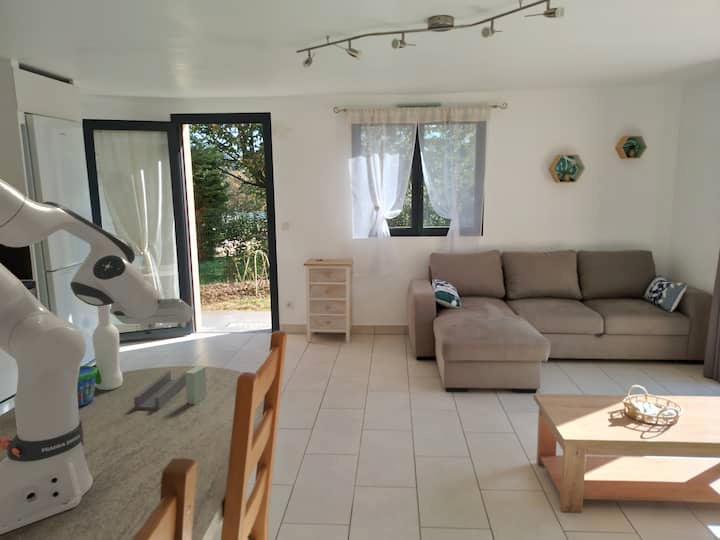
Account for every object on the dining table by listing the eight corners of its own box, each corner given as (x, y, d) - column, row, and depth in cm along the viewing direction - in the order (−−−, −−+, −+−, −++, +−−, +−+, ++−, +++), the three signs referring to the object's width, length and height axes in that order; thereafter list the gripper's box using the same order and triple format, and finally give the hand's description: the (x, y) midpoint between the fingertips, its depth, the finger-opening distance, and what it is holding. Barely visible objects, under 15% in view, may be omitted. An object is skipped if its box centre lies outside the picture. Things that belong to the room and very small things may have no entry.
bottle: (98, 383, 164) (92, 297, 159) (124, 380, 166) (119, 296, 162) (93, 392, 156) (86, 302, 152) (120, 389, 158) (114, 300, 154)
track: (159, 409, 143) (158, 397, 143) (135, 409, 143) (134, 397, 143) (188, 382, 165) (188, 371, 164) (167, 381, 165) (167, 371, 165)
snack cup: (90, 390, 157) (88, 361, 156) (113, 396, 153) (111, 365, 151) (43, 409, 143) (40, 377, 141) (67, 415, 139) (64, 382, 137)
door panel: (195, 404, 147) (193, 373, 146) (186, 403, 148) (185, 372, 146) (206, 397, 153) (205, 367, 151) (198, 395, 154) (197, 366, 152)
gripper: (182, 289, 125) (204, 315, 137) (111, 292, 128) (139, 317, 140) (176, 310, 122) (199, 335, 133) (103, 313, 125) (132, 337, 136)
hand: (167, 326), depth 136 cm, fingers open, 8 cm apart
